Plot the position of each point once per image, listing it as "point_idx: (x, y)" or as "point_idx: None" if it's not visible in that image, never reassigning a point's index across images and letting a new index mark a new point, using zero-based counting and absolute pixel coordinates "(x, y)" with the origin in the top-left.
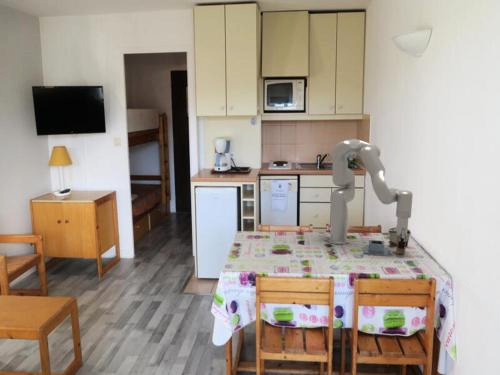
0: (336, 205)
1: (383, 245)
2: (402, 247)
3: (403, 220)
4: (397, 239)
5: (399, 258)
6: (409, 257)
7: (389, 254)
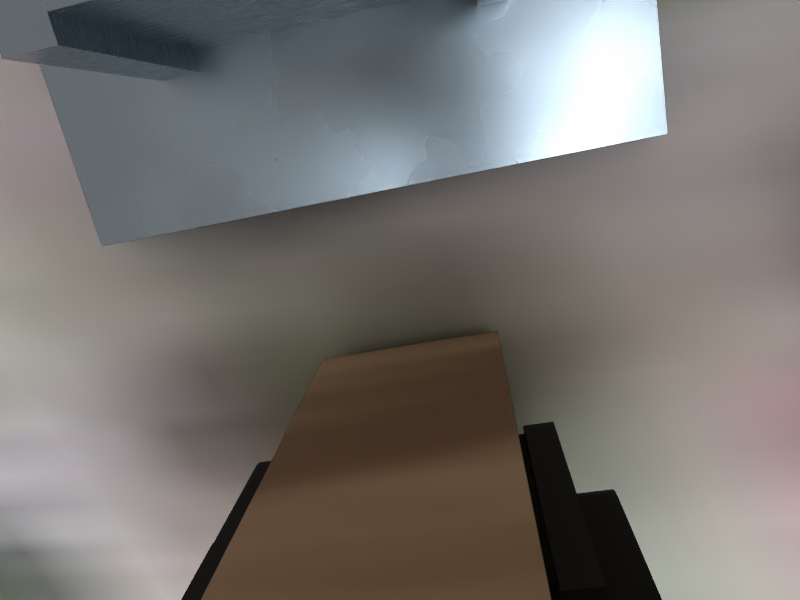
0: None
1: (8, 16)
2: None
3: None
4: (368, 581)
5: (96, 424)
6: None
7: (116, 225)
